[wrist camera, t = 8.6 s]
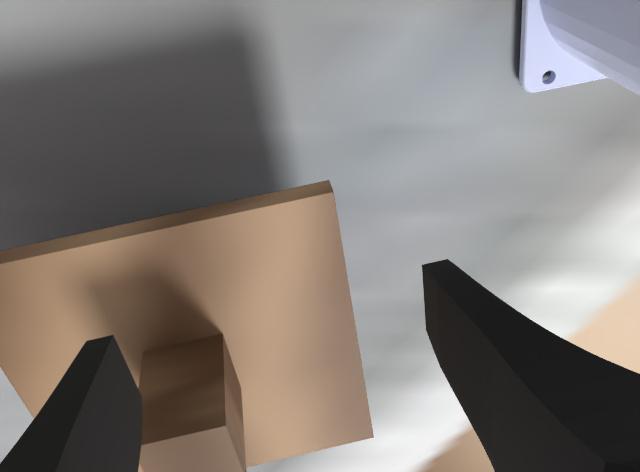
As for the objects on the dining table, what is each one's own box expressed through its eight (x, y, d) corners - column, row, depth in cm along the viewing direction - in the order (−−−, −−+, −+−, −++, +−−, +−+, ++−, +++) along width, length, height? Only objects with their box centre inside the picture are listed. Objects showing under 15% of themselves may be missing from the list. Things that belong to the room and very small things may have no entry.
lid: (329, 180, 19) (361, 267, 15) (369, 422, 26) (399, 526, 22) (-49, 261, 19) (-119, 374, 15) (92, 486, 25) (71, 606, 21)
